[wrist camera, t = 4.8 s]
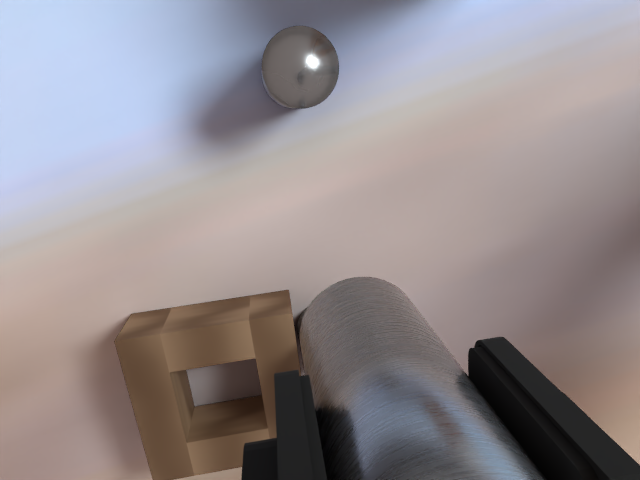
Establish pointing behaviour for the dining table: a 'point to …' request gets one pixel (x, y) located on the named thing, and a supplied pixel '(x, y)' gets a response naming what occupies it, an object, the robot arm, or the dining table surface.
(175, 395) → the socket block
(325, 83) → the short pin
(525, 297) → the dining table surface
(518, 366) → the robot arm
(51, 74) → the dining table surface
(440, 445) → the long pin
